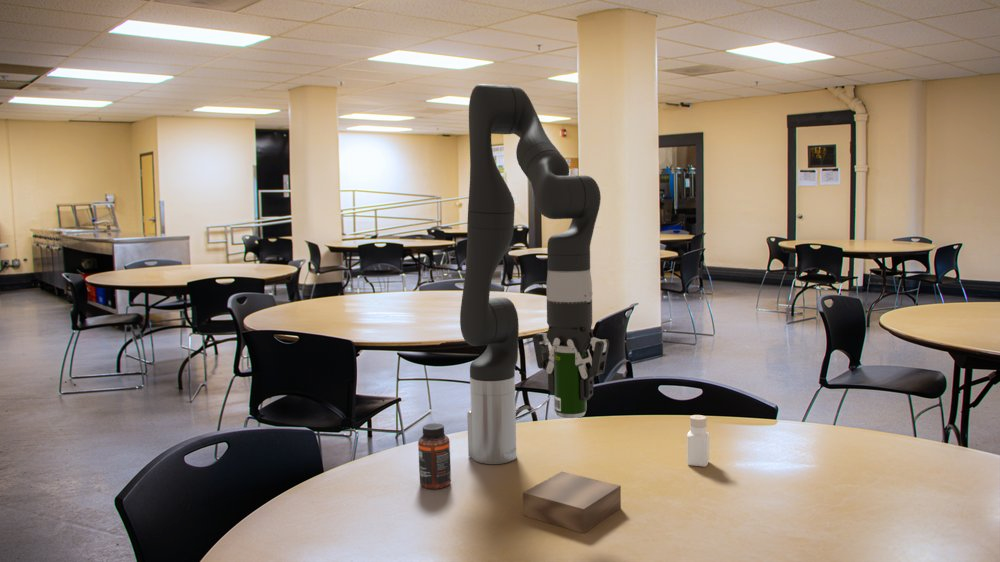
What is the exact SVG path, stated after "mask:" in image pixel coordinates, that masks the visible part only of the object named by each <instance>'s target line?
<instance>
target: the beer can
mask: <svg viewBox="0 0 1000 562" xmlns="http://www.w3.org/2000/svg"><path fill="white" fill-rule="evenodd" d="M577 347H578V346H577ZM580 356H581V358H582V359H585V358H586V353H584V354H582V355H581V354H580ZM576 359H577V358H576ZM585 365H586V364H585ZM581 378H582V377H581V374H580V371H579V368H578V366H576V365H575V352H574V350H573V349H571V347H570V346H568V345H565V346H564V345H560V346H559V345H556V347H555V349H554V395H553V397H554V398H553V399H554V401H553V402H554V405H553V406H554V408H553V409H554V411H555V414H556V416H558V417H560V418H565V419H577V418H581V417H584V416H585V414H586V412H587V408H588V407H587V406H588V405H587V401H588V400H586V401H583V400H581V397H580V379H581Z"/></svg>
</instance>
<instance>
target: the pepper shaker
mask: <svg viewBox="0 0 1000 562" xmlns="http://www.w3.org/2000/svg"><path fill="white" fill-rule="evenodd" d="M707 420H708V419H707V417H706V416H705V415H701V414H693V415H690V416H689V427H690V430H689V431H688V432H687V434H686V463H687V465H688V466H695V467H703V468H705V467H707V466H708V464H709V461H710V433H709V432H707V427H708V426H707V424H708V423H707Z"/></svg>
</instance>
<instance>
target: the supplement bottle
mask: <svg viewBox="0 0 1000 562" xmlns="http://www.w3.org/2000/svg"><path fill="white" fill-rule="evenodd" d="M450 442H451V441H450V438H449V437H448V436H447V435H446V434H445V426H444V425H443V424H442V423H435V422H434V423H428V424H425V425H423V426H422V436H420V438H419V439H418V442H417V447H418V450H417V451H418V467H419V471H418V472H419V473H418V474H419V485H421V487H423V488H425V489H430V490H440V489H442V488H445V487H448V486H449V485H450V484H451V482H452V470H451V469H452V468H451V466H452V465H451V448H450V447H451V446H450V444H451V443H450Z"/></svg>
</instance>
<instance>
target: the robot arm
mask: <svg viewBox="0 0 1000 562" xmlns="http://www.w3.org/2000/svg"><path fill="white" fill-rule="evenodd" d="M469 96H470V97H469V103H468V135H469V136H468V138H469V156H470V157H469V165H470V167H469V186H468V187H469V188H468V189H469V190H468V204H467V223H466V224H467V226H466V228H467V230H466V231H467V233H466V234H467V237H466V238H467V239H466V240H467V242H466V260H465V271H464V272H465V274H464V281H463V289H462V295H461V305H460V313H459V325H460V332H461V335H462V338H463V340H464V341H465V343H467V344H468V345H470V346H471V347H472V346H473V347H480V346H486V349H485V351H483V353H481V355H480V356H479V357H477V358H475V359H474V360H473V361H471V363H470V365H469V386H470V387H469V388H470V389H469V390H470V391H469V392H470V410H469V411H468V412H467V414H466V416H467V418H466V419H467V422H466V423H467V448H468V449H467V451H468V452H467V453H468V455H467V456H468V457H469V458H472V460H473V461H475V462H476V463H481V464H485V465H500V464H506V463H509V462H512V461H514V460H515V459H516V458H517V417H516V415H517V414H516V381H515V380H516V376H515V375H516V374H515V373H516V372H515V369H516V366H517V364H518V359H519V329H520V328H519V316H518V315H519V314H518V311H517V308H516V306H515V305H514V303H513V302H512V301H511V299H509V298H508V297H499V296H498V297H492V298H490V292H491V286H492V280H493V277H494V274H495V272H496V270H497V269H498V267H499V265H500V263H501V261H502V259H503V258H504V256H505V254H506V253H507V251H508V249H509V246H510V244H511V243H512V241H513V237H514V227H515V208H516V207H515V205H516V204H515V201H514V197H513V194H512V192H511V189H510V188H509V186H508V184H507V182H506V181H505V179H504V177H503V176H502V173H501V172H500V170H499V168H498V166H497V164H496V160H495V157H494V153H493V145H492V144H493V143H492V135H493V134H494V135H516V136H517V137H518V138H519V140H518V143H517V145H516V149H515V151H516V152H515V153H516V154H515V155H516V160H517V162H518V163H517V164H518V165H519V168H520V169H521V170H522V171H521V172H523V173H524V175H525V176H526V178H527V179H528V181H529V182H530V183H531V187H532V192H533V197H534V199H535V200H534V202H535V205H536V209H537V211H538V213H540V214H541V215H542V216H543V217H545V218H547V219H550V220H566V219H567V220H571V223H570V224H569V226H568V228H567V230H565V231H563V232H560V233H556V234H554V235H551V236H550V237H549V238H548V240H547V247H546V248H547V250H546V251H547V255H546V256H547V277H546V285H545V286H546V322H547V323H546V324H547V325H548V329H547V331H546V332H544V331H542V332H538V333H535V334H533V335H532V342H533V347H534V354H535V358H536V364H537V367H538V369H541V370H544V371H546V373H547V389H548V392H549V393H550V395H551V396H554V349H555V347H556V345H559V346H560V345H564V346H565V345H568V346H570V347H571V349H573V350H574V352H575V365H576V366H578V368H579V371H580V374H581V377H582V378H581V379H580V397H581V400H583V401H586V400H587V401H589V400H590V399H591V397H593V395H594V379H595V377H597V376H599V375H602V374H604V373H605V370H606V365H607V357H608V353H609V347H610V340H608V339H606V338H605V339H600V338H597V337H595V336H594V334H593V331H592V326H593V280H592V274H591V273H592V272H591V244H592V240H593V239H592V238H593V234H594V229H595V225H596V221H597V218H598V215H599V210H600V206H601V198H602V197H601V191H600V190H601V189H600V187H599V184H598V183H597V182H596V180H595V178H593V177H591V176H590V175H589V176H588V175H570V167H569V164H568V162H567V160H566V158H565V157H564V156H563V155H562V154H561V152H560V151H559V150H558V149H557V147H556V146H555V144H553V142H552V141H551V140H550V138H549V137H548V135H547V134H546V132H545V131H546V130H545V129H544V127H543V125H542V123H541V120H540V118H539V115H538V113H537V112H536V109H535V107H534V105H533V102H532V101H531V98H530V97H529V95H528V94H527V93H526V92H525V91H524V89H522V88H520V87H519V86H515V85H503V84H491V83H481V84H480V83H479V84H476V85H475V86H474V88H473V89H472V91H471V93H470V95H469ZM549 345H551V347H552V348H551V350H550V349H549ZM577 346H578V347H577ZM590 347H592V348H591V350H592V351H593V356H592V355H591V353H590ZM584 353H586V358H585V359H582V358H581V356H580V354H581V355H582V354H584ZM576 358H577V359H576ZM585 364H586V365H585Z"/></svg>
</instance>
